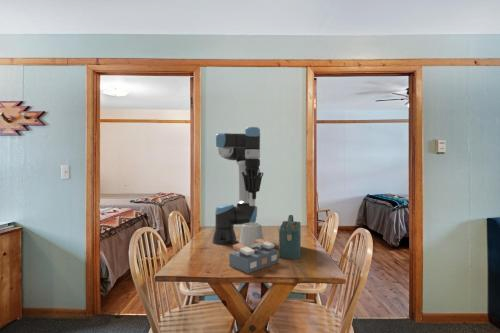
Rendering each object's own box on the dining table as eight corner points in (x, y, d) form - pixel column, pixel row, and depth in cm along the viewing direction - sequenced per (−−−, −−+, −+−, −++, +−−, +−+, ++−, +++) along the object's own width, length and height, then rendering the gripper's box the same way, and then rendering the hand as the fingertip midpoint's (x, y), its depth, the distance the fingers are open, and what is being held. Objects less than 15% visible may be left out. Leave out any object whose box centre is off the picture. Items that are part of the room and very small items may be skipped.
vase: (266, 254, 146) (266, 226, 146) (240, 255, 143) (240, 227, 144) (261, 247, 159) (261, 221, 160) (237, 248, 157) (237, 222, 157)
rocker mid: (243, 252, 132) (242, 247, 132) (251, 250, 135) (250, 245, 136) (257, 248, 125) (255, 243, 126) (264, 246, 129) (263, 241, 129)
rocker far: (253, 244, 137) (253, 240, 137) (260, 242, 140) (260, 238, 140) (267, 250, 130) (267, 246, 130) (274, 248, 133) (275, 244, 133)
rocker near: (232, 249, 127) (232, 245, 127) (240, 247, 131) (240, 243, 131) (246, 257, 120) (246, 252, 120) (254, 255, 124) (255, 250, 123)
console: (228, 265, 127) (228, 249, 128) (259, 256, 142) (259, 241, 142) (248, 273, 118) (248, 255, 118) (278, 262, 132) (278, 246, 133)
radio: (300, 259, 137) (300, 220, 137) (278, 258, 139) (278, 219, 139) (300, 246, 162) (300, 212, 162) (282, 245, 164) (282, 212, 164)
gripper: (238, 158, 136) (237, 205, 136) (256, 158, 127) (256, 207, 127) (248, 158, 141) (248, 203, 141) (267, 158, 132) (267, 206, 132)
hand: (252, 205), depth 134 cm, fingers closed
